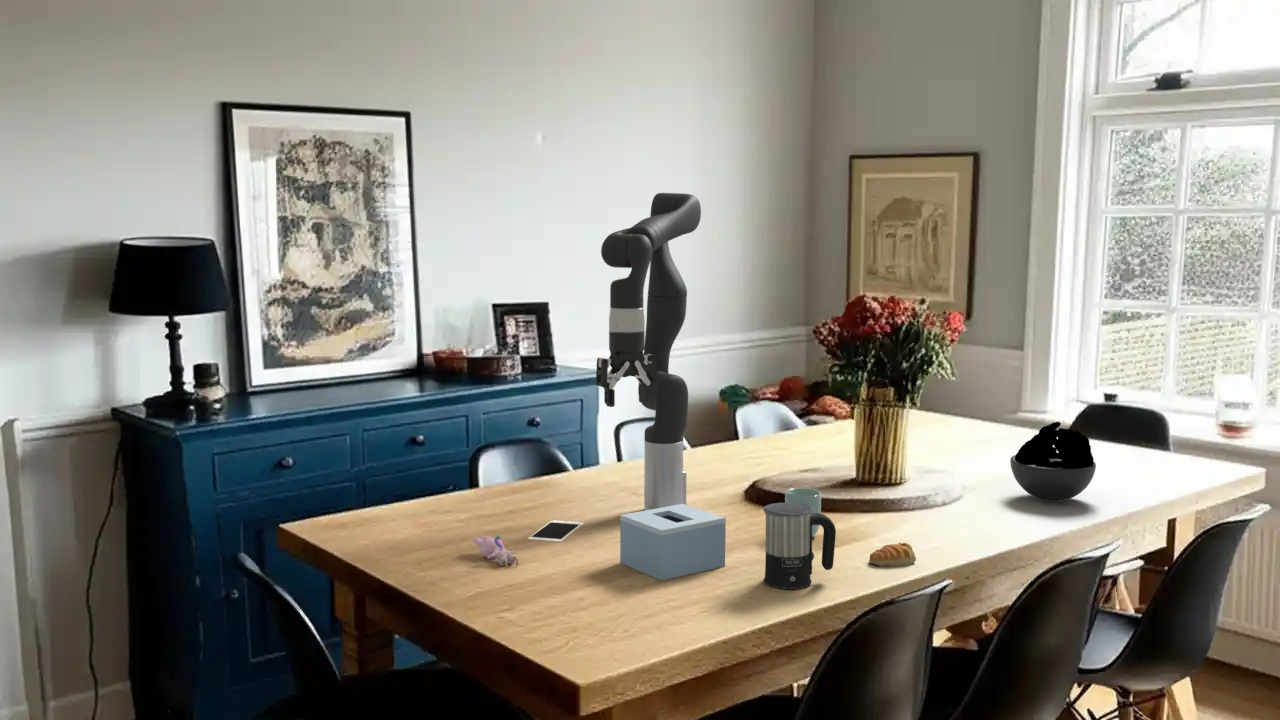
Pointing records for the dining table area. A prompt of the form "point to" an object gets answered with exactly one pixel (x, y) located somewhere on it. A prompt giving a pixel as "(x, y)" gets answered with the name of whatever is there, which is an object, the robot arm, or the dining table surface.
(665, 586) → the dining table surface
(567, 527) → the cell phone
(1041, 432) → the bowl of black rocks
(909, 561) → the pastry
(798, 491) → the cup
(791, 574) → the milk frother
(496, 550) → the rabbit figure
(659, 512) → the box
